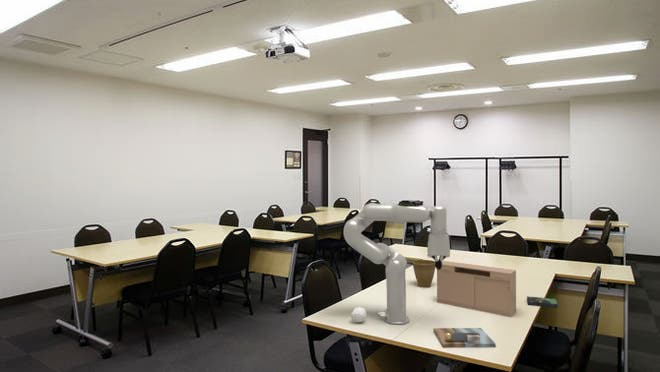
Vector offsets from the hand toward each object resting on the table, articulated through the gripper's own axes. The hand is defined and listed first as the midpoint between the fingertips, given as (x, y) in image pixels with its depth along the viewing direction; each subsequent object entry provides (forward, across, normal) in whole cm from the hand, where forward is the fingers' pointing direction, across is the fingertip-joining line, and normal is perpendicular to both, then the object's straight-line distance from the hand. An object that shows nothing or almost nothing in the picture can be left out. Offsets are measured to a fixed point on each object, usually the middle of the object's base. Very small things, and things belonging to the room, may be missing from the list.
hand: (438, 269), depth 203 cm
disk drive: (+27, +64, +30) cm, 76 cm away
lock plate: (+27, +6, -19) cm, 33 cm away
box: (+27, +25, +24) cm, 44 cm away
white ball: (+28, -39, +3) cm, 48 cm away
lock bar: (+25, +4, -25) cm, 36 cm away
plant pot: (+27, +6, +68) cm, 74 cm away
